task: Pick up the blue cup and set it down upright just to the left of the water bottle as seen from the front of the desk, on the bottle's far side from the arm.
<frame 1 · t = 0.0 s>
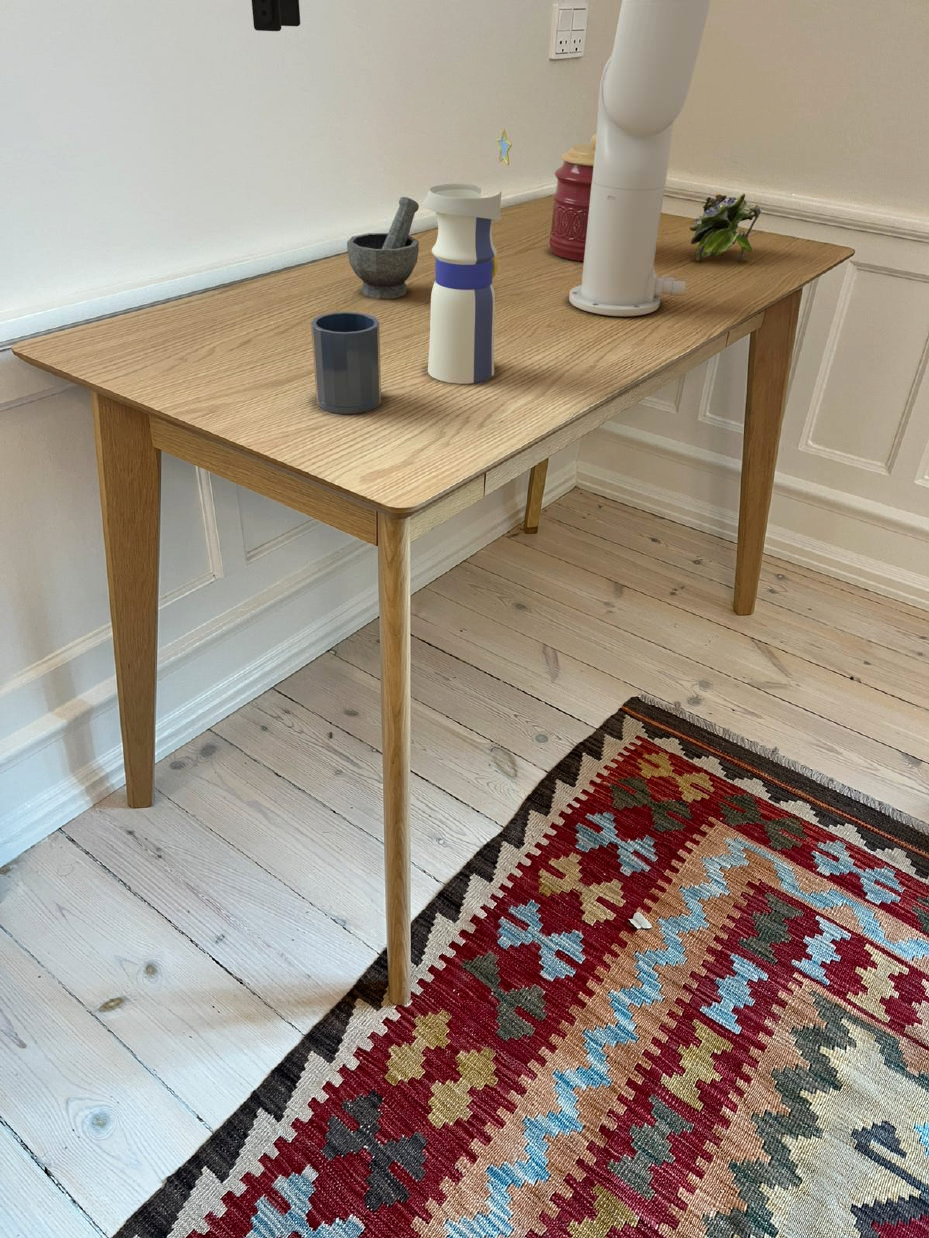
hand: (278, 28, 114), 31 cm above the table, tool pointing down, fingers open, 9 cm apart
kitchen canister: (587, 254, 152), on the table
blue cup: (349, 401, 99), on the table
mortar and pestle: (387, 292, 132), on the table
water bottle: (460, 372, 108), on the table
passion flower: (721, 258, 153), on the table
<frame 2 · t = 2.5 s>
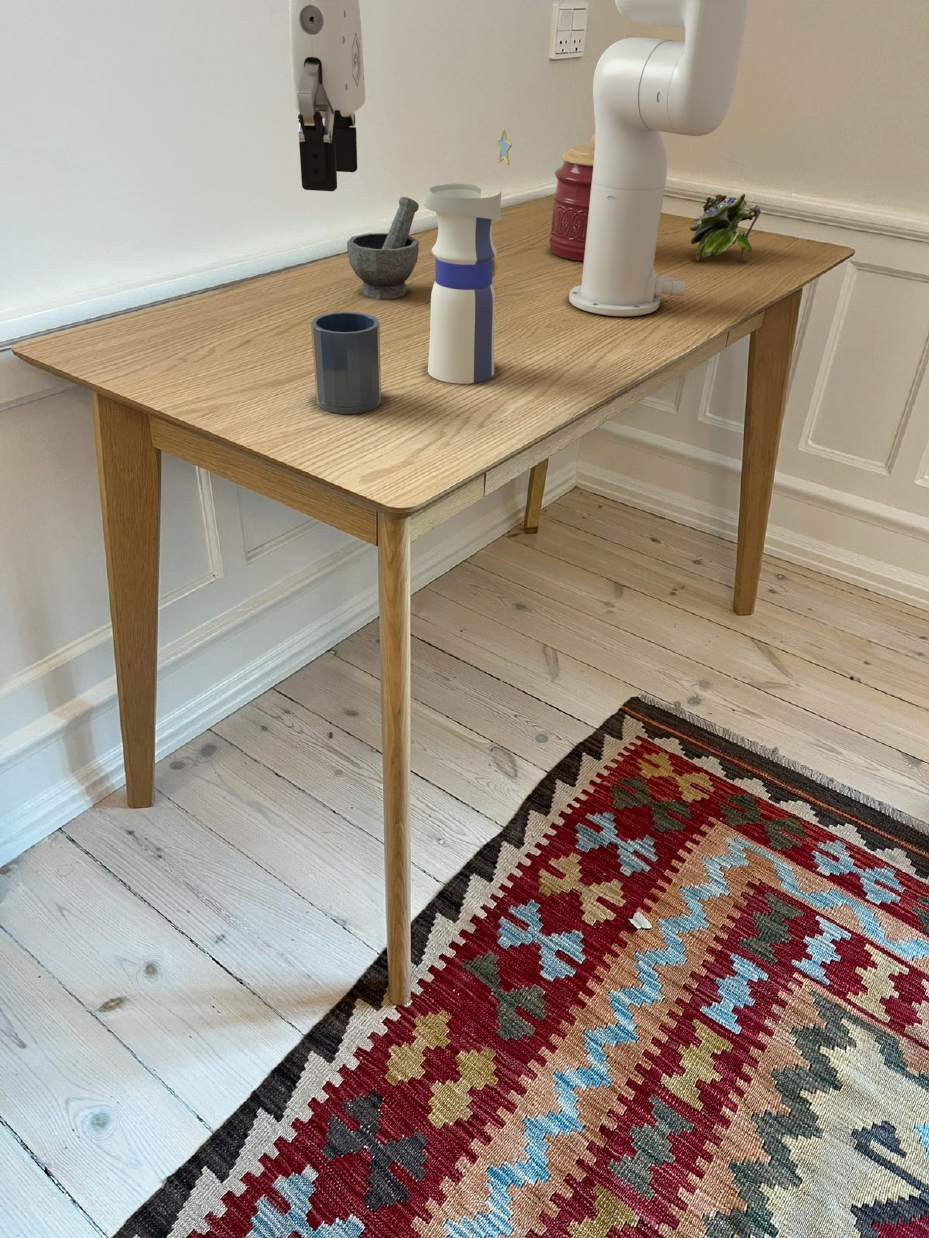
hand: (331, 180, 90), 21 cm above the table, tool pointing down, fingers open, 9 cm apart
nothing on the table moved.
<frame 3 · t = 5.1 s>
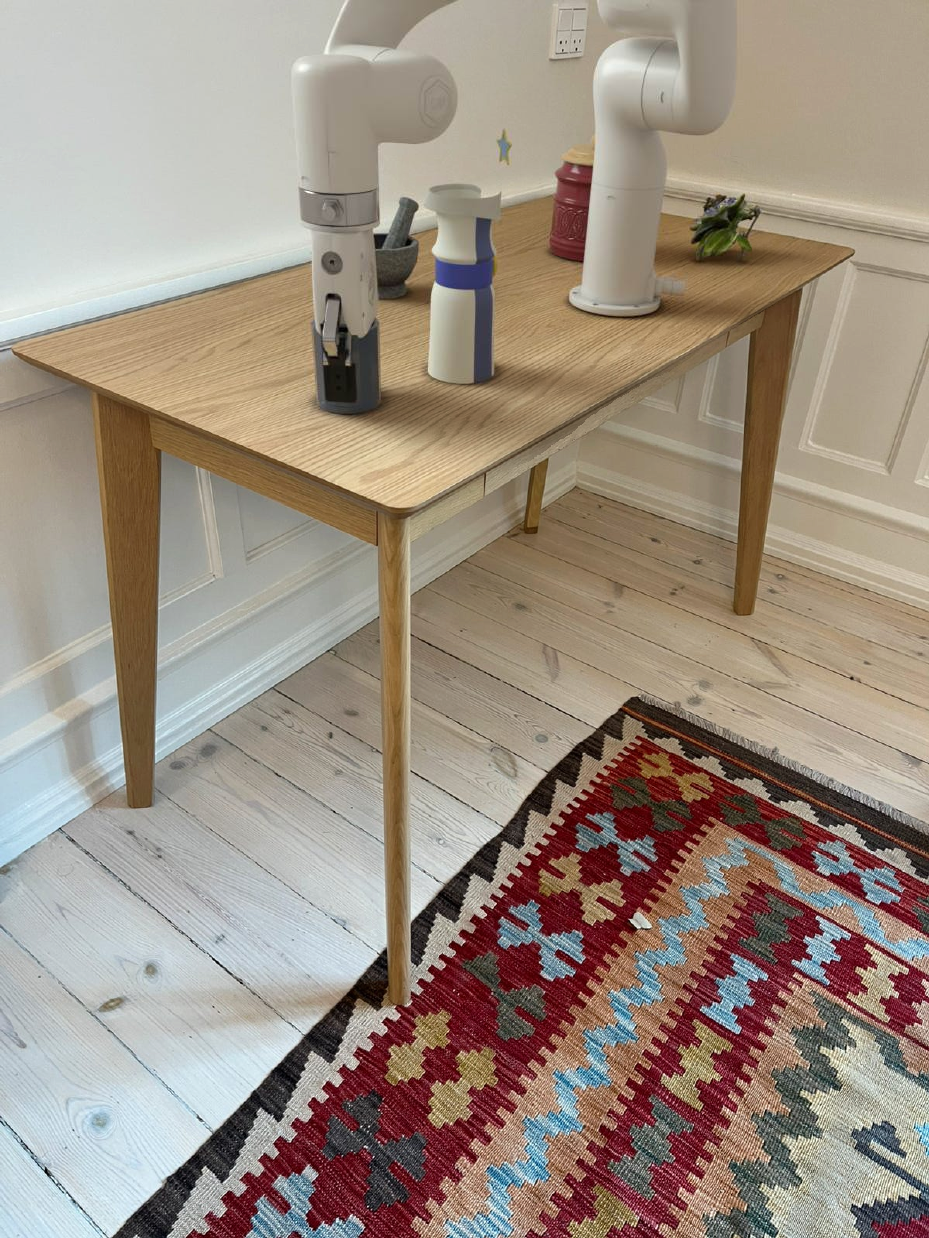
hand: (348, 386, 98), 2 cm above the table, tool pointing down, fingers closed on blue cup, 6 cm apart
blue cup: (349, 401, 99), on the table, touching gripper
everything else where it was.
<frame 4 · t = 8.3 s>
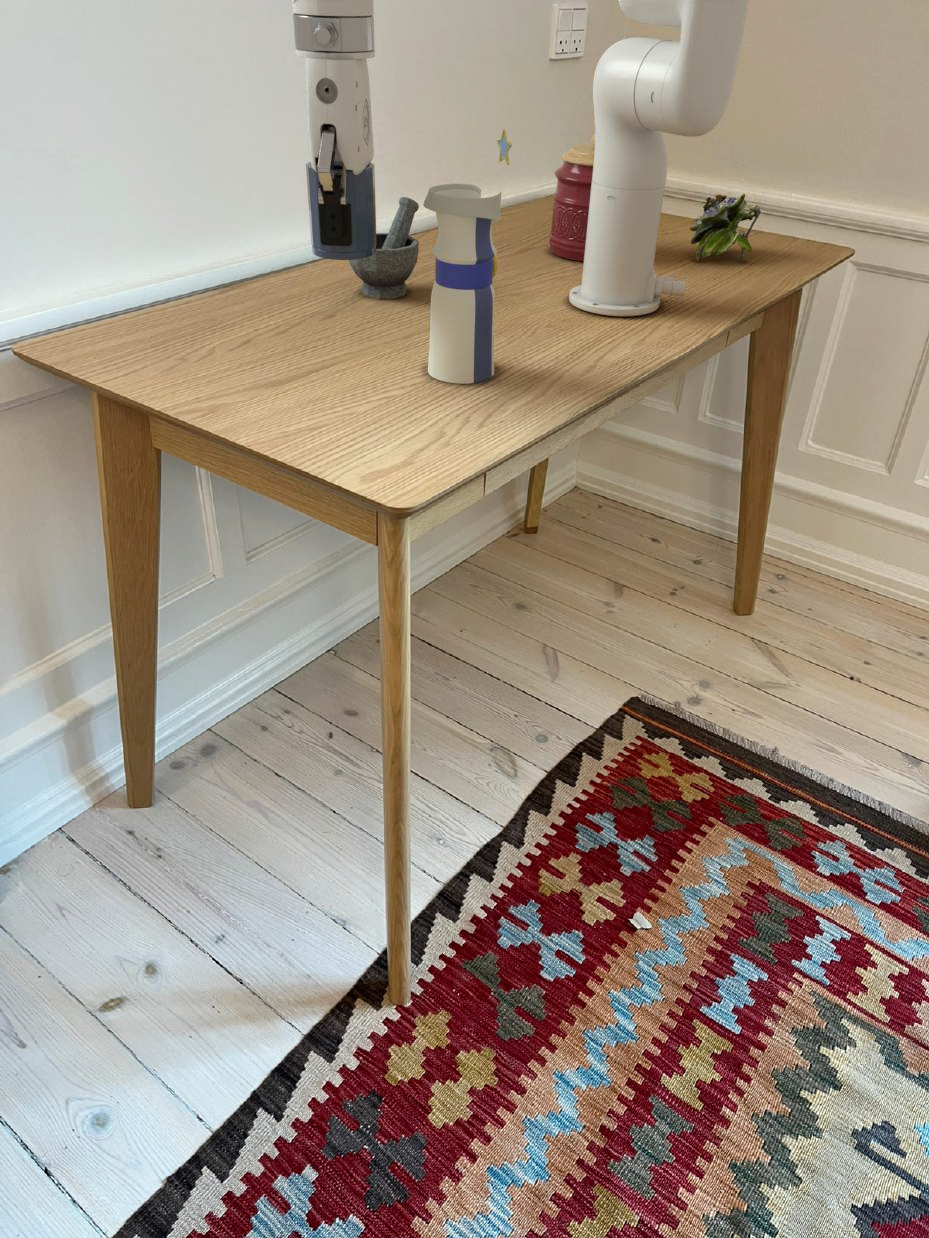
hand: (343, 234, 98), 15 cm above the table, tool pointing down, fingers closed on blue cup, 6 cm apart
blue cup: (344, 252, 99), point 13 cm above the table, touching gripper
everything else where it was.
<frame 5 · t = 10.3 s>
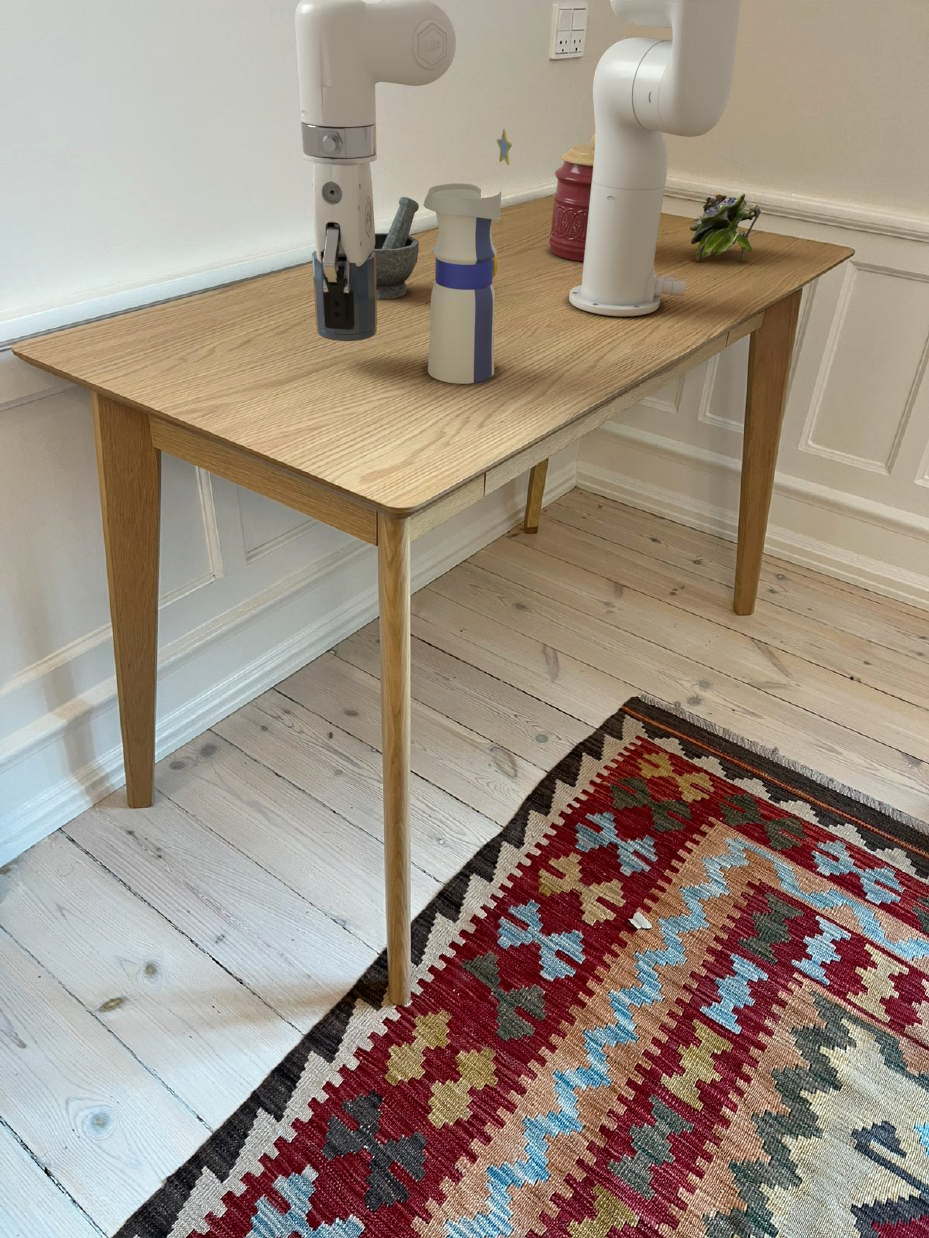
hand: (346, 316, 105), 6 cm above the table, tool pointing down, fingers closed on blue cup, 6 cm apart
blue cup: (347, 331, 106), point 4 cm above the table, touching gripper
everything else where it was.
when the fingers open (2 cm above the table, at t = 11.8 s): blue cup stays where it is, on the table.
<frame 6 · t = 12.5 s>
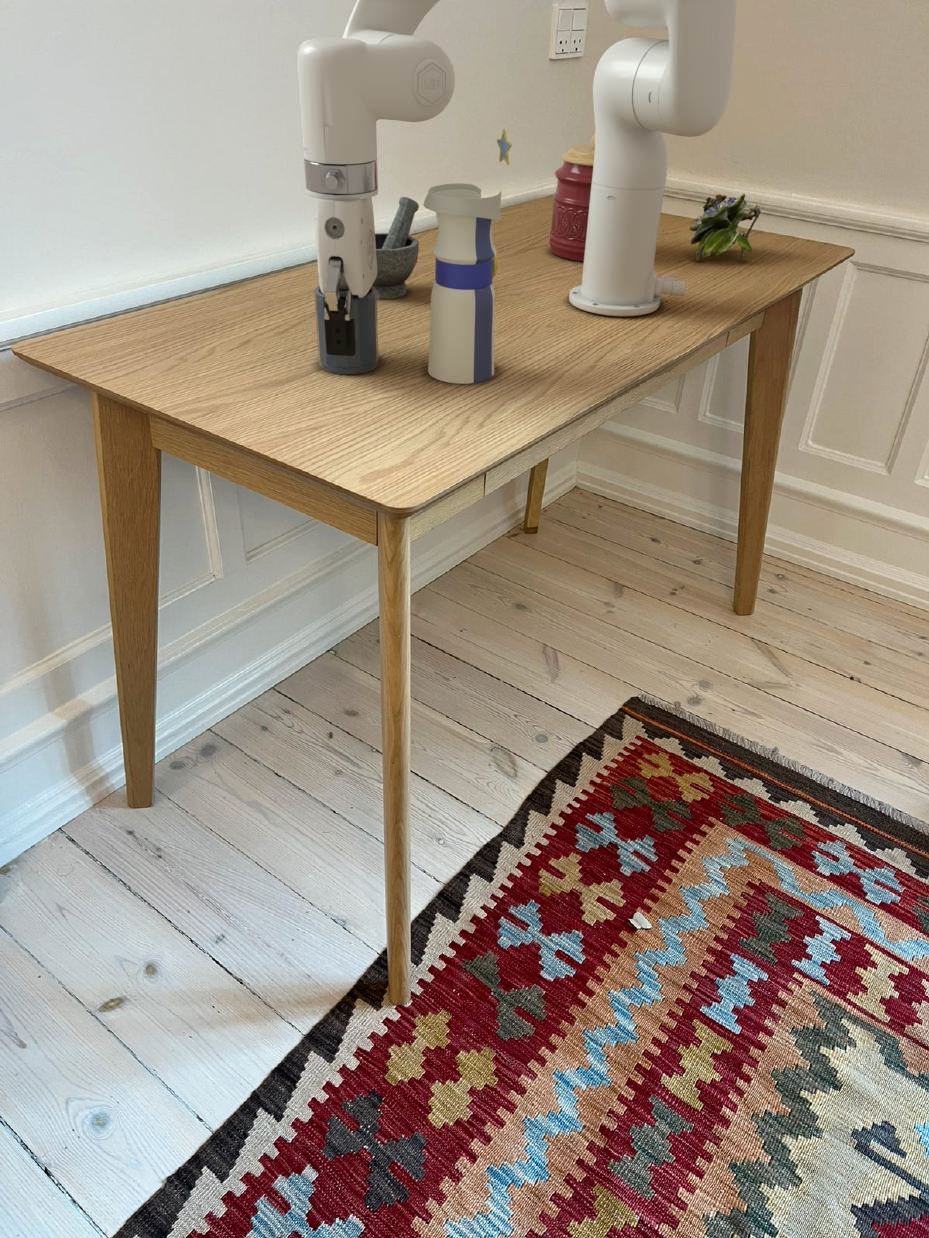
hand: (349, 339, 107), 3 cm above the table, tool pointing down, fingers open, 9 cm apart
blue cup: (348, 364, 108), on the table
everything else where it was.
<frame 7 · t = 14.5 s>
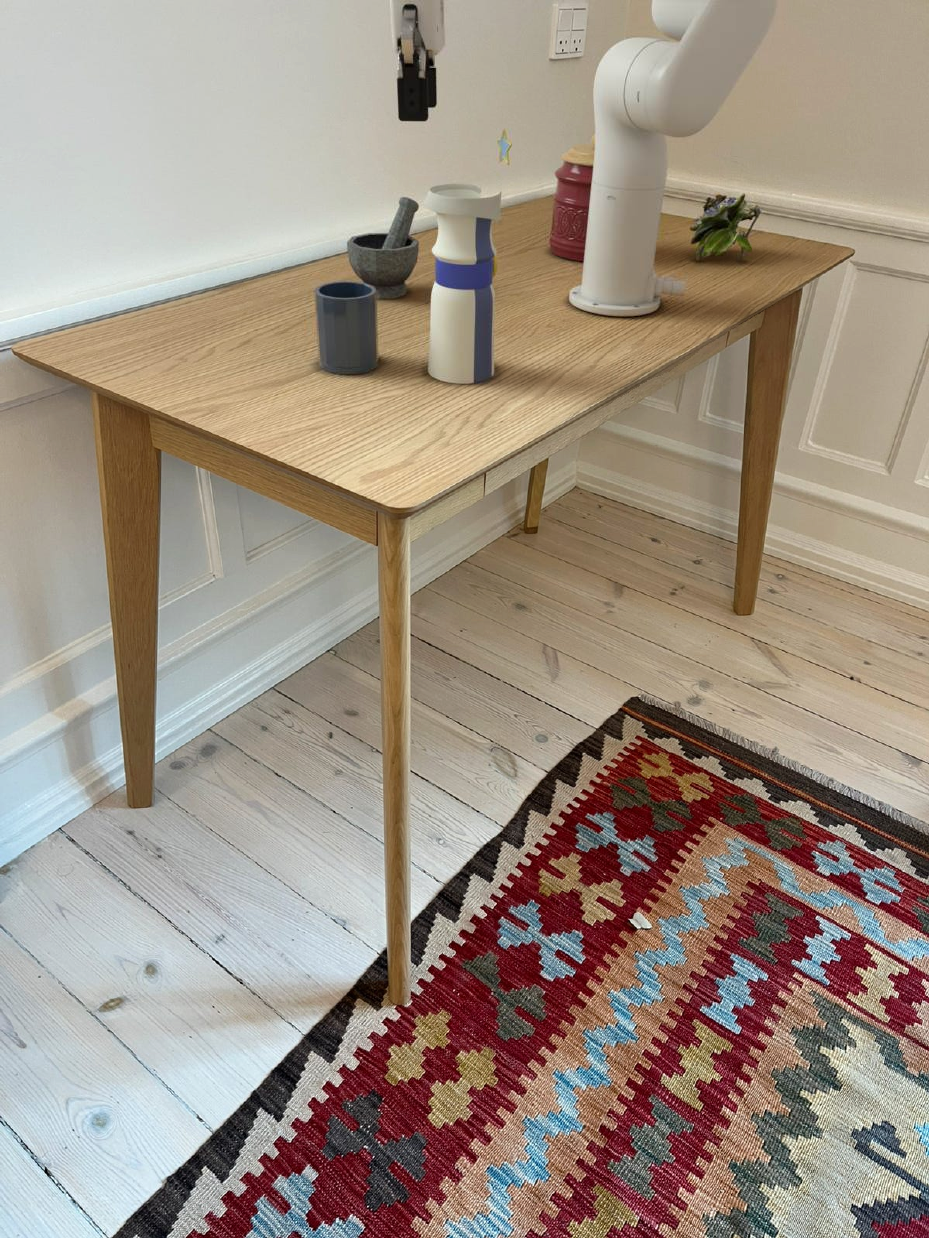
hand: (418, 114, 104), 25 cm above the table, tool pointing down, fingers open, 9 cm apart
nothing on the table moved.
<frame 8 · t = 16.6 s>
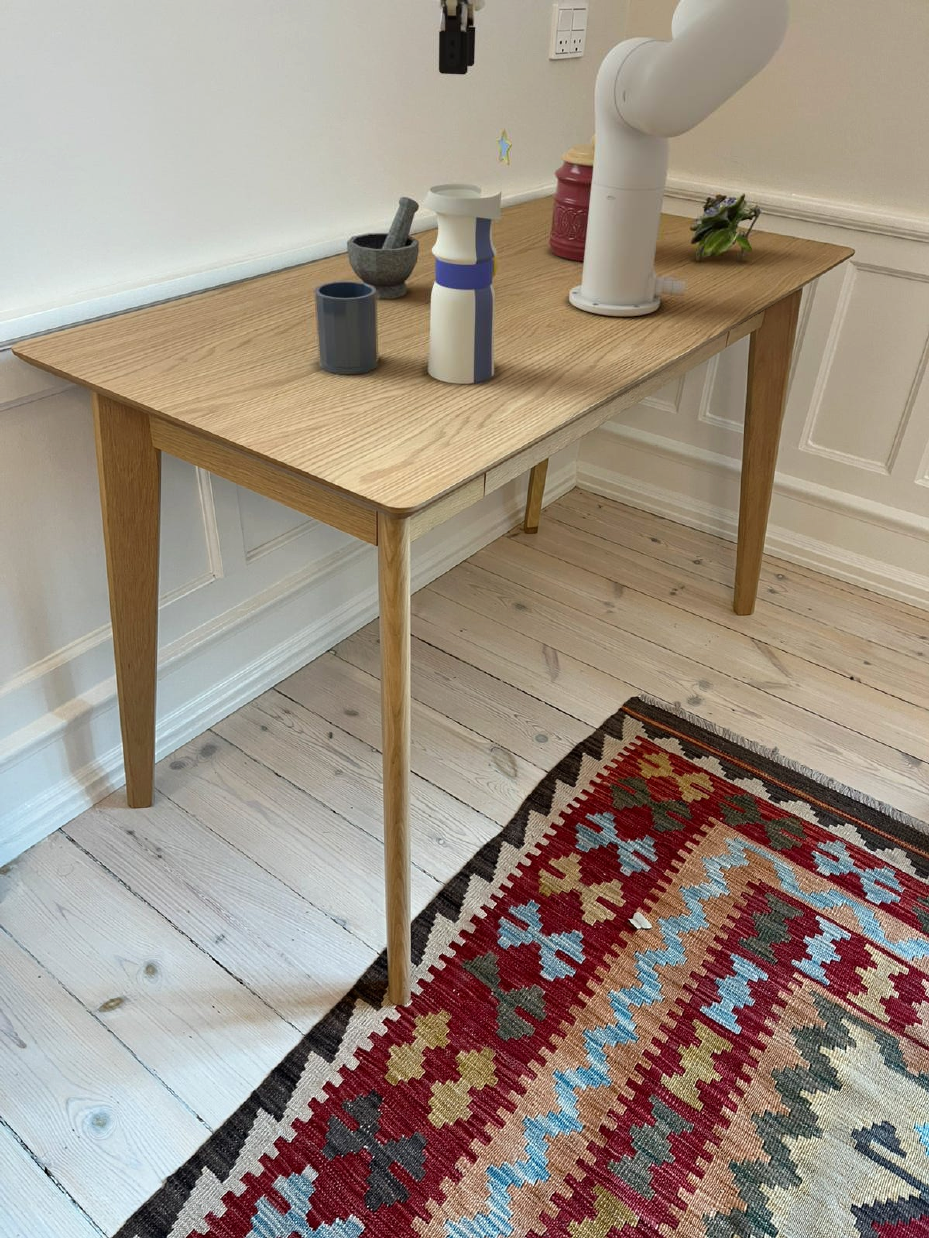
hand: (457, 69, 108), 28 cm above the table, tool pointing down, fingers open, 9 cm apart
nothing on the table moved.
at the end: blue cup inside the target area on the table beside the water bottle (0.1 cm from its centre), on the table; blue cup tilted 0°; water bottle moved 0.2 cm from its start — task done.
